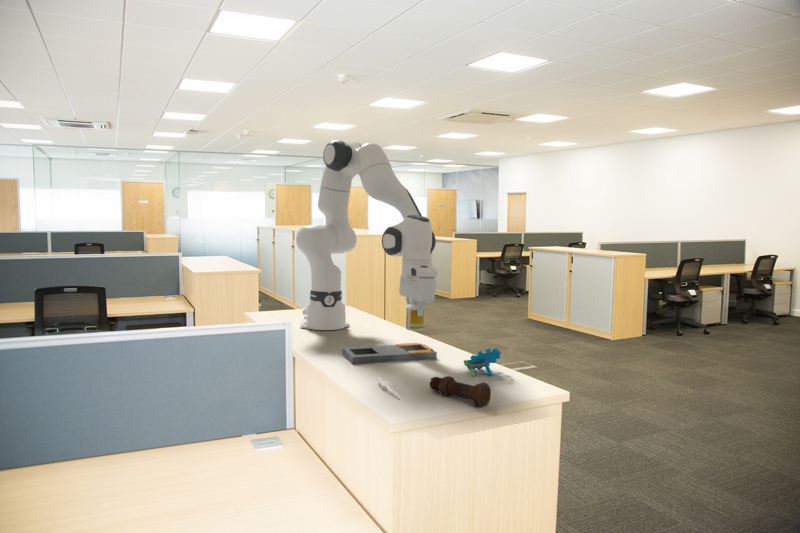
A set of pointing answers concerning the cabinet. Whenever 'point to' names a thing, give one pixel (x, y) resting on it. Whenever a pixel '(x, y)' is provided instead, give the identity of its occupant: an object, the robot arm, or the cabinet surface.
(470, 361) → the blue lobed piece
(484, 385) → the bolt
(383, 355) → the gray and orange holder
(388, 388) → the stone spearhead
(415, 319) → the supplement bottle
